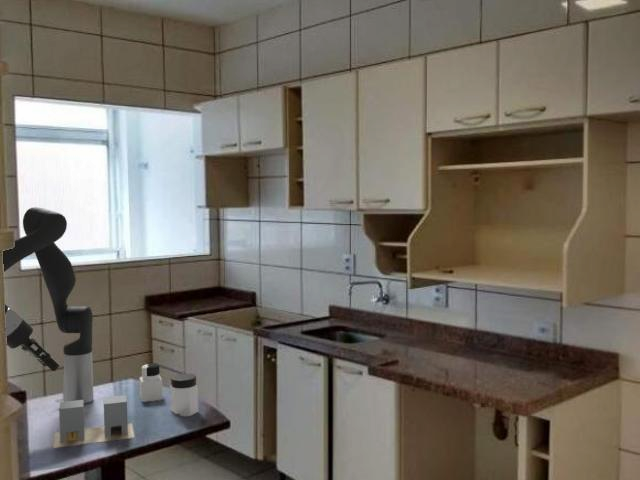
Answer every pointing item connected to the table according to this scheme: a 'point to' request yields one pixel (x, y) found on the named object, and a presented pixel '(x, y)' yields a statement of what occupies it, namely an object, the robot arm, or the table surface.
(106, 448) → the table surface
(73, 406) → the cube cover
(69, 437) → the letter cube
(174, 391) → the jar
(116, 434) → the birch board
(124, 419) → the empty cover
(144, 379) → the medicine bottle
